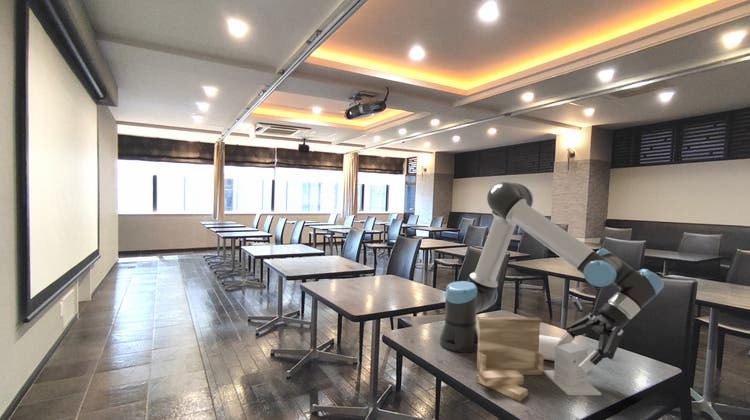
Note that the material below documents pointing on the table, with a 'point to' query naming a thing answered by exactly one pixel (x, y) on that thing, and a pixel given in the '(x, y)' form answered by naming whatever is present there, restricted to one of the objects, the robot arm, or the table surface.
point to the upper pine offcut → (501, 377)
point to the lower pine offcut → (509, 390)
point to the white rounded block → (547, 347)
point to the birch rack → (509, 345)
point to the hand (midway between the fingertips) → (568, 359)
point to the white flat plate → (573, 390)
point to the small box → (570, 364)
